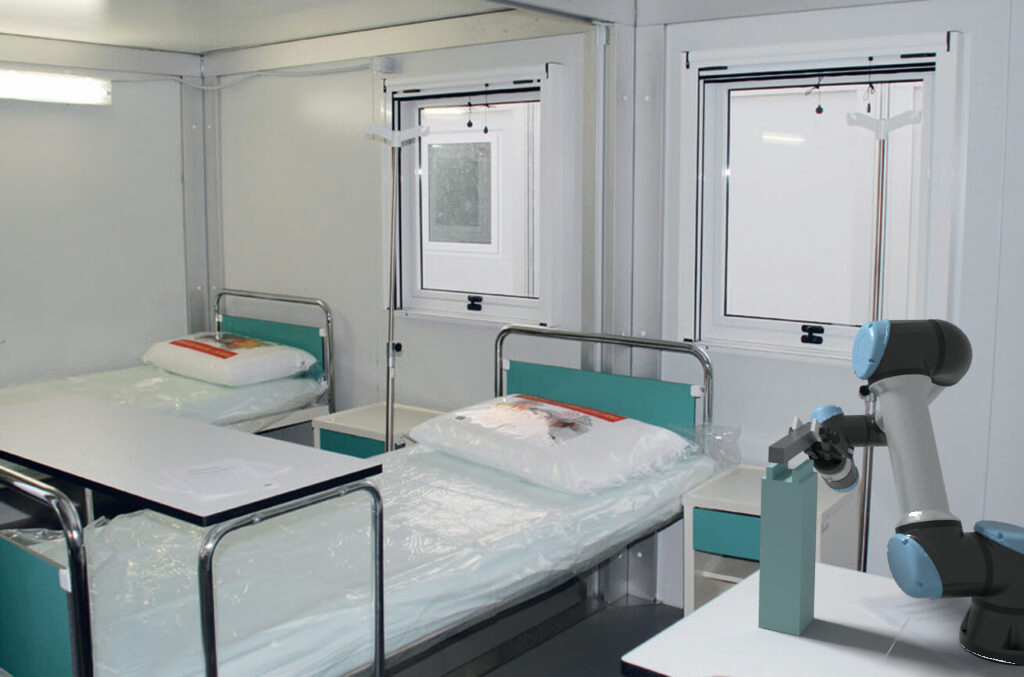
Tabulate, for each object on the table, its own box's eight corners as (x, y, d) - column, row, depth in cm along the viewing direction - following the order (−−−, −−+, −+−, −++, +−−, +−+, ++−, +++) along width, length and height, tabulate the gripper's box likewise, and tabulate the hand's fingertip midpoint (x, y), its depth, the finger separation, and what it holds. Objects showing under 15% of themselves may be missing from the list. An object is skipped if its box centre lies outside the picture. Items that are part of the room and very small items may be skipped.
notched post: (774, 609, 204) (778, 455, 200) (813, 618, 199) (818, 460, 195) (758, 627, 195) (761, 466, 191) (798, 636, 191) (803, 471, 187)
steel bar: (807, 435, 209) (808, 421, 209) (822, 437, 207) (822, 423, 207) (768, 462, 187) (768, 446, 187) (783, 464, 186) (784, 448, 185)
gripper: (864, 480, 214) (841, 446, 195) (790, 470, 222) (761, 436, 204) (869, 447, 216) (847, 410, 198) (796, 438, 225) (768, 402, 206)
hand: (804, 423), depth 201 cm, fingers closed on steel bar, 3 cm apart
